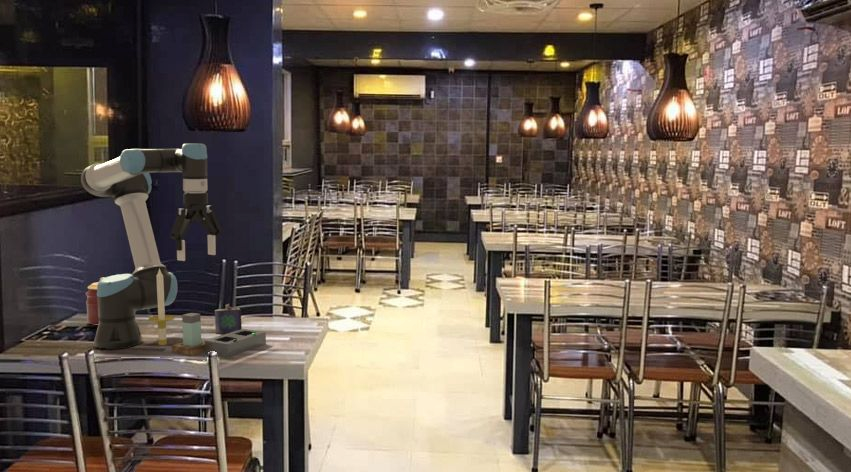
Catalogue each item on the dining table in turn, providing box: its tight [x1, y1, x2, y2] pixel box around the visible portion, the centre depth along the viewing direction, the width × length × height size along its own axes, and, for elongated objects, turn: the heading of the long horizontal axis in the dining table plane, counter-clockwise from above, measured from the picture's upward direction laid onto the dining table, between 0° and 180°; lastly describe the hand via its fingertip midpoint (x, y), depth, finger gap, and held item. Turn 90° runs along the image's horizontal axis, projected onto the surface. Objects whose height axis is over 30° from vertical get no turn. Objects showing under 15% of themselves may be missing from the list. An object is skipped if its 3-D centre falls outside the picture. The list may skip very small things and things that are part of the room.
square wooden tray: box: [171, 340, 205, 357], centre depth 243 cm, size 9×9×3 cm
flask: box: [214, 303, 243, 336], centre depth 268 cm, size 9×3×11 cm, turn 105°
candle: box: [148, 268, 176, 346], centre depth 250 cm, size 10×10×27 cm
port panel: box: [203, 328, 267, 358], centre depth 245 cm, size 10×18×5 cm, turn 151°
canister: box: [85, 276, 106, 324], centre depth 285 cm, size 13×13×18 cm
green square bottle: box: [181, 312, 202, 347], centre depth 242 cm, size 4×4×12 cm
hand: (196, 257), depth 240 cm, fingers open, 13 cm apart
